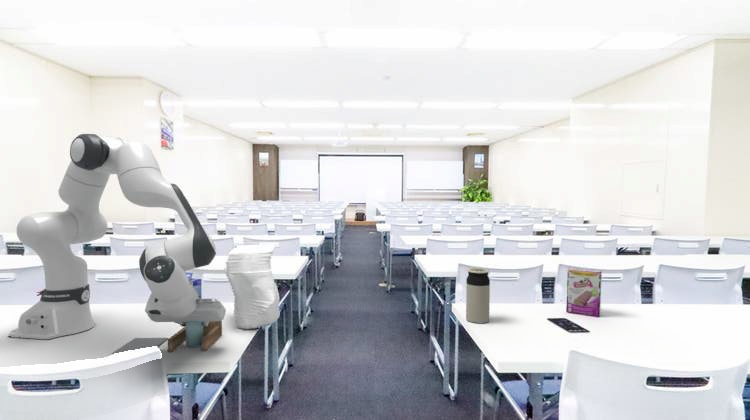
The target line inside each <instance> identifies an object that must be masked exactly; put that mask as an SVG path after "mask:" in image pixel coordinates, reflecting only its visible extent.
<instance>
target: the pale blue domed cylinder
mask: <svg viewBox="0 0 750 420" xmlns="http://www.w3.org/2000/svg"><path fill="white" fill-rule="evenodd" d="M203 338H204V336H203V326H202V325H201V322H186V340H185V347H186V348H191V349H192V348H198V347H200V346H201V347H202V339H203Z"/></svg>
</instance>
